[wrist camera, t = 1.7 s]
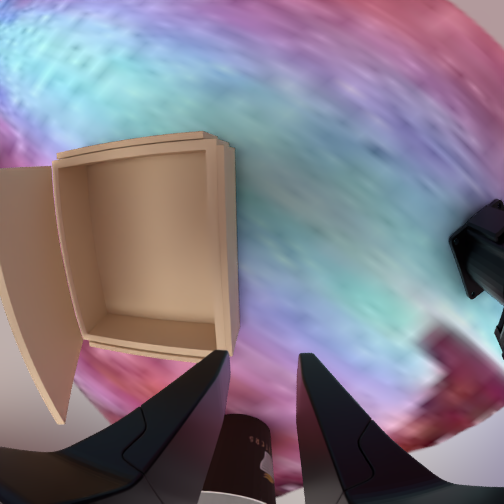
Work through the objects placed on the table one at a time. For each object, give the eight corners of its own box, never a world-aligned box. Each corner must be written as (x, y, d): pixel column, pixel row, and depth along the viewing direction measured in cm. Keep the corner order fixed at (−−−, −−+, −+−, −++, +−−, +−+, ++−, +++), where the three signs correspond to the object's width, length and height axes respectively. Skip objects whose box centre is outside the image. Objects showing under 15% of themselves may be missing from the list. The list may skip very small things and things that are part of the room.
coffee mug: (196, 401, 26) (168, 482, 17) (284, 409, 26) (280, 497, 16) (206, 459, 30) (189, 524, 20) (275, 466, 29) (270, 533, 19)
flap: (51, 166, 16) (-13, 169, 8) (83, 340, 20) (65, 424, 11) (43, 167, 15) (-23, 172, 7) (76, 341, 19) (56, 424, 11)
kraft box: (235, 135, 19) (223, 129, 15) (240, 333, 23) (233, 366, 19) (83, 153, 20) (50, 155, 16) (107, 320, 24) (83, 344, 20)
